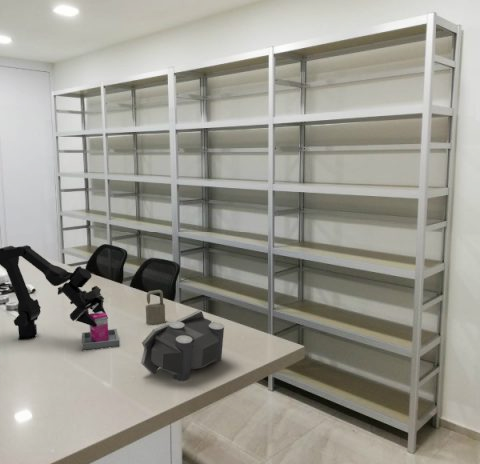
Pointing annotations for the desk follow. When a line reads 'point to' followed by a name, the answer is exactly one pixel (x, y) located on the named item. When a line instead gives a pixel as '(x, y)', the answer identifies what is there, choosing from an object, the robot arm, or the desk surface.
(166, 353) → the electronic device
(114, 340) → the tray
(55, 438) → the desk surface
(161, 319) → the padlock
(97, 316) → the supplement box
